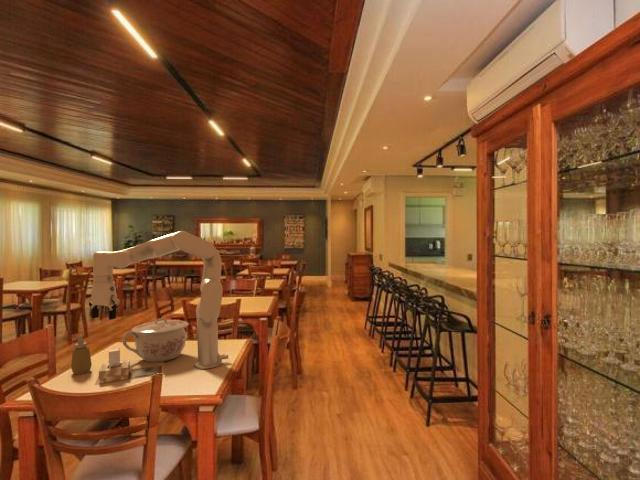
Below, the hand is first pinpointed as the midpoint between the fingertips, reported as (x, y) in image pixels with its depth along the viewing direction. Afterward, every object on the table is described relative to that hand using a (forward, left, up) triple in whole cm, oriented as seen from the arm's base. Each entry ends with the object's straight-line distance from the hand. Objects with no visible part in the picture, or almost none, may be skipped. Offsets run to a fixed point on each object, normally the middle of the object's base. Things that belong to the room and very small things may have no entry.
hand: (103, 318), depth 166 cm
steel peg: (-4, 0, -26) cm, 27 cm away
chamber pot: (-23, -22, -28) cm, 42 cm away
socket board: (-10, 0, -27) cm, 29 cm away
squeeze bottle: (+11, -14, -28) cm, 33 cm away
